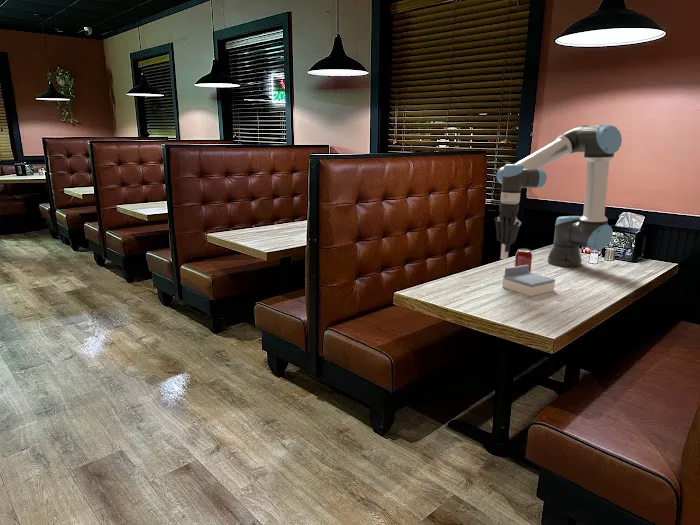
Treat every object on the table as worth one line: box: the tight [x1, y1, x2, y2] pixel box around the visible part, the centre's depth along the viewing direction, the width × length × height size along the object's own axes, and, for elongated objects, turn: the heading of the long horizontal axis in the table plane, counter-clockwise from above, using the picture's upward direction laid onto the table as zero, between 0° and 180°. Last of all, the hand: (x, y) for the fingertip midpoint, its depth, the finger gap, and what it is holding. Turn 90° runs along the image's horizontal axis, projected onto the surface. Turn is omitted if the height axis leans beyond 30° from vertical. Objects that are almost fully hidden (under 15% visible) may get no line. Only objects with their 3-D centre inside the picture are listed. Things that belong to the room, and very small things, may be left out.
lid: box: [502, 265, 556, 286], centre depth 200 cm, size 14×14×4 cm
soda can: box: [514, 248, 533, 272], centre depth 216 cm, size 7×7×12 cm
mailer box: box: [502, 277, 556, 297], centre depth 201 cm, size 14×14×4 cm
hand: (504, 258), depth 209 cm, fingers closed
